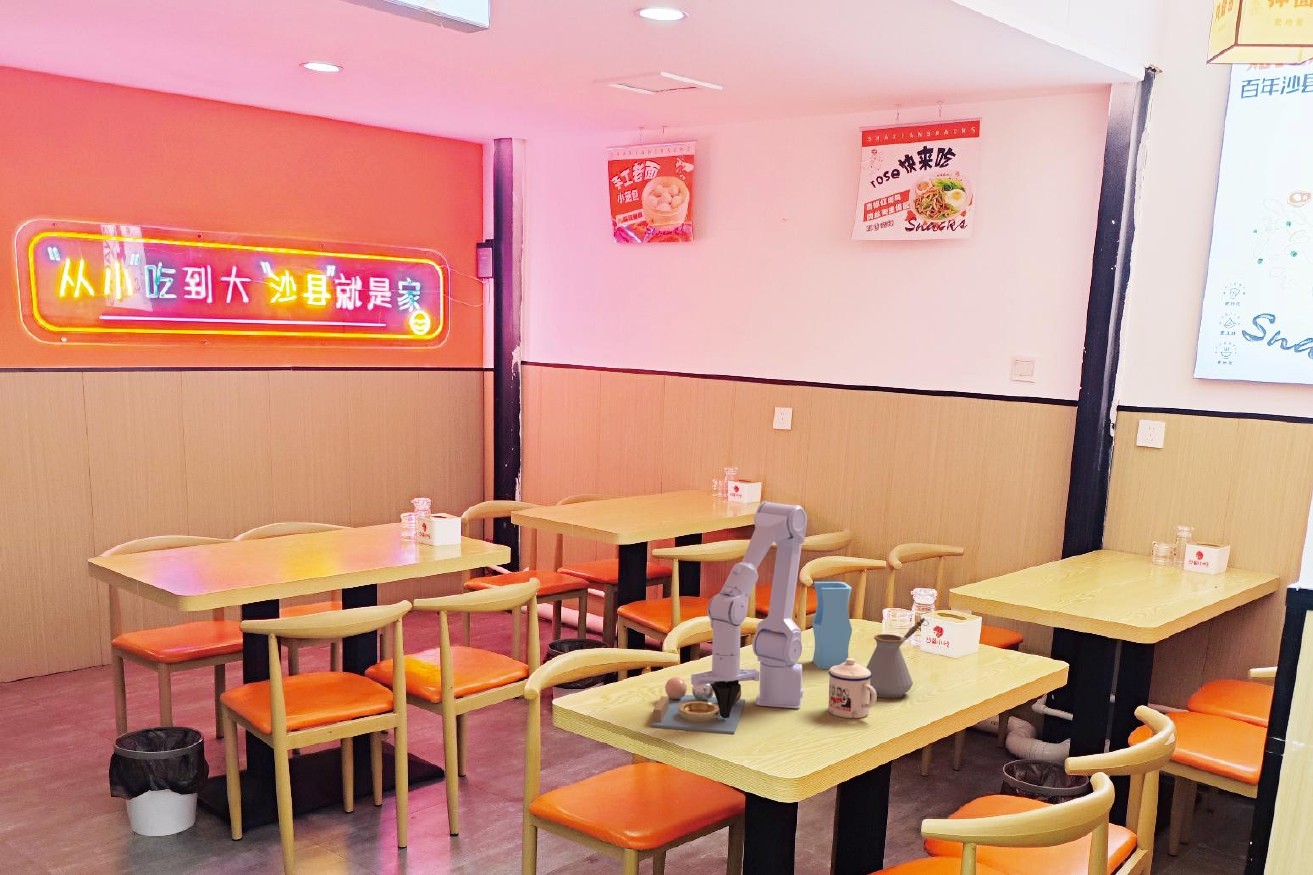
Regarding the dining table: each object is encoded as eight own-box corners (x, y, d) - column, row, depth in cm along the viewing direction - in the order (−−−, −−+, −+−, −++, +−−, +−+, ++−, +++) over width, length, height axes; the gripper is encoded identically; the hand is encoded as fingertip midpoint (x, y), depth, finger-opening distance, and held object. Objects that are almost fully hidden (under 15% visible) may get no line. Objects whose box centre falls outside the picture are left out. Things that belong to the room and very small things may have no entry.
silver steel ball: (715, 698, 237) (715, 677, 236) (712, 705, 232) (712, 683, 232) (693, 696, 238) (694, 675, 237) (690, 703, 233) (690, 681, 233)
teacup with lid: (818, 710, 232) (820, 657, 231) (848, 702, 237) (849, 651, 236) (859, 726, 222) (861, 670, 221) (889, 718, 228) (891, 664, 227)
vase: (811, 659, 271) (813, 581, 269) (841, 659, 271) (844, 581, 270) (819, 669, 263) (821, 588, 261) (850, 668, 264) (853, 588, 262)
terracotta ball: (688, 696, 238) (688, 675, 238) (684, 703, 233) (685, 681, 233) (666, 694, 239) (667, 673, 238) (663, 701, 234) (663, 679, 234)
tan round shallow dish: (723, 712, 227) (723, 704, 227) (712, 725, 219) (713, 716, 219) (685, 707, 230) (686, 699, 230) (673, 719, 222) (673, 711, 222)
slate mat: (745, 701, 237) (745, 688, 236) (734, 733, 216) (734, 719, 216) (669, 695, 240) (669, 682, 240) (651, 726, 219) (651, 712, 219)
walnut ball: (742, 700, 236) (742, 679, 235) (739, 707, 231) (740, 685, 231) (720, 698, 237) (721, 677, 236) (717, 705, 232) (718, 684, 231)
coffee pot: (894, 704, 237) (896, 637, 236) (850, 692, 245) (853, 627, 244) (944, 684, 252) (947, 622, 251) (902, 674, 260) (904, 613, 259)
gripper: (750, 644, 228) (748, 707, 229) (686, 649, 223) (685, 713, 224) (764, 653, 221) (762, 717, 222) (698, 658, 217) (697, 724, 218)
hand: (724, 716), depth 223 cm, fingers closed
